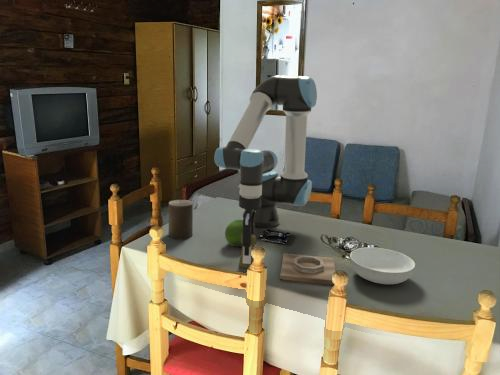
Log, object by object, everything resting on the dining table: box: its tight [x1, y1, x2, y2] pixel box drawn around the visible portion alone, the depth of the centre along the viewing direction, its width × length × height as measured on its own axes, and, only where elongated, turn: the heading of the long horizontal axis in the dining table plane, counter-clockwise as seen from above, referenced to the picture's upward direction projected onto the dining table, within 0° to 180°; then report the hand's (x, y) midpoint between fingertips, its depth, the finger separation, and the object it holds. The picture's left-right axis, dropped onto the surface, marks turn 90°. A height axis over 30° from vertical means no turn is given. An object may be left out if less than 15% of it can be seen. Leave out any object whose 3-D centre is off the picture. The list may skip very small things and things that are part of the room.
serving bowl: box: [349, 246, 416, 285], centre depth 140 cm, size 21×21×7 cm
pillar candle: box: [168, 199, 194, 240], centre depth 170 cm, size 10×10×15 cm
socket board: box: [279, 252, 336, 286], centre depth 144 cm, size 18×18×3 cm
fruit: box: [224, 219, 243, 248], centre depth 164 cm, size 15×10×10 cm, turn 161°
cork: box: [238, 234, 257, 269], centre depth 145 cm, size 6×6×11 cm
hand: (247, 259), depth 146 cm, fingers closed on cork, 5 cm apart
